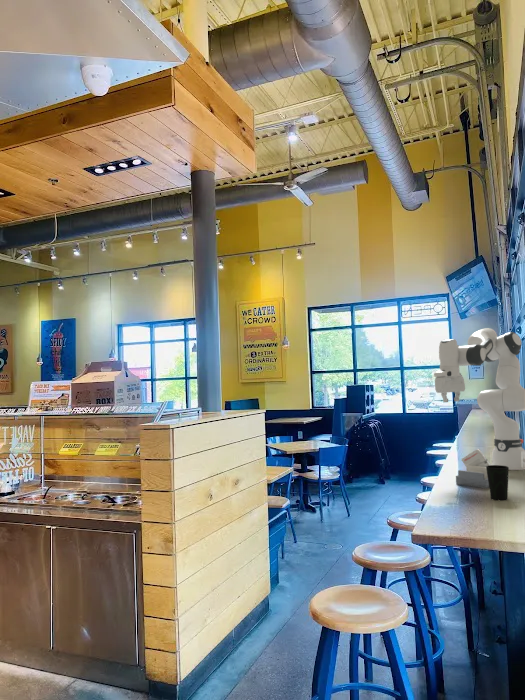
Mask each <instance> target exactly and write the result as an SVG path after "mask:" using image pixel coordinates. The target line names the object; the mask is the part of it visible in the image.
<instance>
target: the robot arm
mask: <svg viewBox="0 0 525 700" xmlns="http://www.w3.org/2000/svg"><path fill="white" fill-rule="evenodd" d="M521 349H522V339H521V337H520V336H519V334H517V333H516V332H514V331H509V332H506V333H504V334H501V335H499V336H498V334H497V332H496V331H495V330H494V329H493V328H491V327H485V328H481V329H479V330H476V331H474V332H473V333H472V334H470V336H469V337H468V339H467V345H458V342H457V339H456V338H449V339H448V338H447V339H442V340H441V341H440V342H439V346H438V359H439V363H440V364H439V369H438V370H436V371H435V372H434V373H433V376H434V377H435V379H434V389H435V391H436V393H437V394H440V395H441V398H442V401H443V403H449V398H448V397H447V394H448V393H454V394H455V395H454V397H453V400H454V402H460V396H461V393H462V392H465V389H466V385H465V384H466V383H465V379H464V377H463V375H462V373H461V372H460V367H462V366H463V367H464V366H482V364H484V362H487V363H493V362H495V361H498V362H499V363H498V365H497V370H496V376H495V384H496V386H497V387H498V388H497V389H491V388H490V389H485V390H481V391H480V392H479V393H478V395H477V397H476V403H477V404H478V407H479V408H480V409H481V410H482V411H484V412H485V413H486V414H487V415H488V417H489V418H490V419H491V421H492V425H493V430H494V439H493V445H494V448H493V449H492V451H491V452H492V453H491V454H492V455H491V456H492V457H491V463H490V464H491V465H501V466H507V467H509V471H510V470H511V471H516V470H517V471H519V470H520V471H521V470H522V471H523V470H525V449H524V448H523V447H522V446H523V443H524V439H522V438H520V428H519V427H520V426H519V424H518V422H517V421H516V420H515V419H513V418H511V417H508V416H507V415H506V414H505V412H523V411H525V388H524V387H523V386H522V385H521V383H520V381H521V379H520V378H521V363H520V359H519V358H518V357H517V356H518V355H519V354H520V353H521Z"/></svg>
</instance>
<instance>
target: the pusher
mask: <svg viewBox="0 0 525 700" xmlns="http://www.w3.org/2000/svg"><path fill="white" fill-rule="evenodd" d="M465 467H466V471H471V472H479V473H484V478H485V479H487V478H488V475H487V469H486V467H479V466H470V465H467V466H465Z"/></svg>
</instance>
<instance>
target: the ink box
mask: <svg viewBox="0 0 525 700" xmlns="http://www.w3.org/2000/svg"><path fill="white" fill-rule="evenodd" d="M461 461H462V463H463V464H464V466H465V467H466V466H467V465H470V466H479V467H486V466H489V465H491V463H490V461H489V460H488V459H487V458H486V456H485V455H484V453H483V452H482V450H480V448H477V449H475V450H474V451H472V452H471V453H469V454H467V455H466V456H463V457H462V458H461Z"/></svg>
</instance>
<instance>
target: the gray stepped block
mask: <svg viewBox="0 0 525 700" xmlns="http://www.w3.org/2000/svg"><path fill="white" fill-rule="evenodd" d="M457 473H458V474H457V475H455V484H456V485H458V486H465V487H474V488H480V489H490V488H489V482H488V478H487V479H485V478H484V473H479V472H471V471H467V470H462V469H458V471H457Z"/></svg>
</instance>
